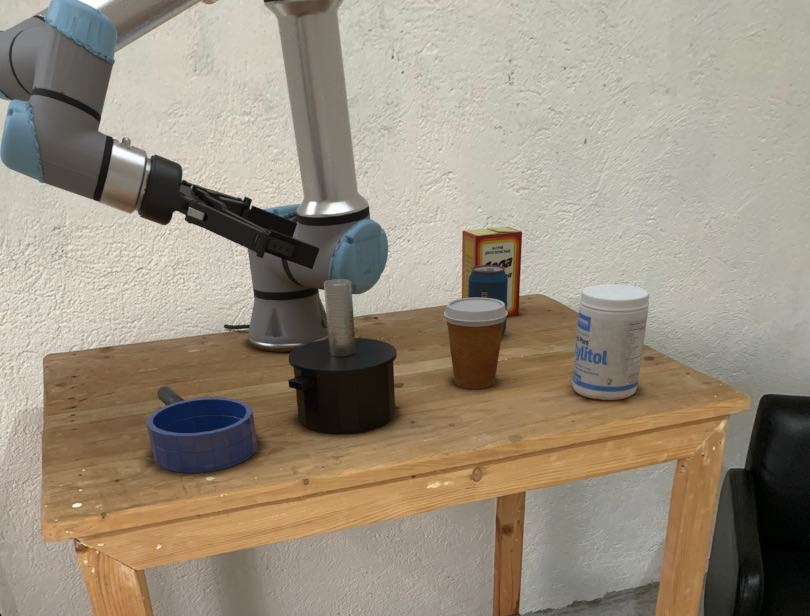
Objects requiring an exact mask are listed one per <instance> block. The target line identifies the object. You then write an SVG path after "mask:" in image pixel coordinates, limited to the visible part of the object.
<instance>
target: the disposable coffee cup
mask: <svg viewBox="0 0 810 616" xmlns="http://www.w3.org/2000/svg"><path fill="white" fill-rule="evenodd" d="M507 314H508V312H507V311H506V309H505V304H504V302H502V301H500V300H497V299H491V298H478V297H475V298H462V297H461V298H457V299H453V300H450V301H449V302H447V304H446V307H445V310H444V312H443V316H444V319H445V322H446V324H447V331H448V341H449V348H450V358H451V364H452V365H451V366H452V373H453V382H454V384H455V386H457V387H459V388H464V389H473V390H475V389H485V388H489V387H492V386H493V385H494V384H495V382H496V376H497V371H498V363H499V357H500V349H501V343H502V337H503V335H502V331H503V325H504V321H505V319H506V320H507V317H508V316H507ZM506 316H507V317H506Z"/></svg>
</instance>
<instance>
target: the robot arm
mask: <svg viewBox="0 0 810 616" xmlns="http://www.w3.org/2000/svg"><path fill="white" fill-rule="evenodd" d="M218 1H220V0H50V2H49V6H47V7H46V8H44V9H43V10H40V11H39V12H37V13H34V15H32V16H30V17H29V18H26V19H24V20H22V21H20V22H19V23H17V24H15V25H13V26H12V27H10V28H8V29H5V30H0V99H1V100H4V101H10V102H9V103H8V107H7V110H6V116H5V120H4V123H3V125H4V126H3V130H2V134H1V135H2V136H1V140H0V141H1V142H0V160H1V162H2V163H3V165H4V166H5V167H6V168H8V169H9V170H11V171H14V172H16V173H18V174H21V175H24V176H26V177H29V178H31V179H33V180H37V181H38V182H39V183H41V184H46V185H49V186H52V187H54V188H57V189H60V190H63V191H66V192H69V193H72V194H75V195H78V196H80V197H82V198H87V199H89V200H93V201H95V202H98V203H99V204H102V205H105V206H107V207H110V208H113V209H115V210H119V211H120V212H123V213H126V214H129V215H132V214H133V213H135V211H136V212H137V215H138V216H139V217H140V218H141V219H145V220H147V221H150V222H153V223H156V224H158V225H162V226H167V225H169V224H170V222H171V221H172V219H173V215H174V213H175V212H178V213H179V214H182V215H184V221H185V222H186V223H188V224H190V225H194V226H198V227H199V228H202V229H205V230H206V231H208V232H211V233H213V234H216V235H218V236H219V237H222V238H224V239H226V240H229V241H231V242H233V243H235V244H237V245H239V246H242V247H243V248H246V249H247V254H248V262H249V269H250V276H251V284H252V290H253V305H252V311H251V316H250V323H249V324H233V325H232V324H226V323H224V324H223V328H224V329H226V330H247V329H248V341H249V342H248V343H249V345H250V346H251V347H252V348H255V349H257V350H261V351H266V352H278V353H281V352H282V353H285V352H289V353H290V352H291V351H292V350H294V349H296V348H297V347H300V346H302V345H305V344H308V343H311V342H316V341H321V340H327V339H328V330H327V317H326V308H325V307H324V304H323V302H322V299H321V295H320V290H321V291H324V282H325V281H328V280H333V279H347V280H350V281H351V284H352V295H361V294H364V293H367V292H368V291H370V290H371V289H372V288H374V286H376V284H377V283H378V282H379V280H380V278H381V277H382V276H381V275H382V274H383V273H384V271H385V268H386V265H387V261H388V256H389V241H388V236H387V233H386V231H385V229H384V228H382V226H381V224H380V223H378V222H377V221H375V220H374V219H371V211H370V203H369V201H368V200H367V199H366V198H365V197H364V196H362V195H361V194H360V192H359V190H358V180H357V173H356V163H355V154H354V147H353V137H352V136H353V135H352V129H351V128H352V127H351V119H350V111H349V102H348V95H347V94H348V93H347V85H346V75H345V66H344V57H343V50H342V41H341V32H340V23H339V13H338V12H339V9H340V7H342V6H341V5H342V4H343V3H344V1H345V0H263V6H264V7H265V8H266V9H268V10H269V11H270V12H271V13H272V15H274V16H275V18H276V20H277V26H278V32H279V33H278V34H279V38H280V46H281V52H282V53H281V54H282V60H283V66H284V74H285V80H286V86H287V93H288V99H289V106H290V112H291V120H292V126H293V133H294V140H295V146H296V147H295V148H296V153H297V160H298V168H299V173H300V179H301V186H302V193H303V194H302V195H303V199H302V201H301V203H293V204H287V205H280V206H274V207H273V206H272V207H266V208H260V207H257V206H255V205H254V204H253V205H252V202H253V199H252V198H250V197H248V196H244V197H243V198H241V197H239V196H238V197H237V196H234V195H231V194H226V193H223V192H221V191H217V190H213V189H211V188H207V187H204V186H201V185H199V184H195V183H192V182H189V181H187V180H186V179H183V172H184V171H183V167H182V165H181V164H180V163H179V162H176V161H174V160H172V159H168V158H166V157H163V156H161V155H158V154H152V155H151V156H150V157H148V153H147V151H146V150H145V149H142V148H139V147H136V146H134V145H131V144H132V140H131V139H130V138H129V137H127V136H126V137H125V136H123V138H122V139H121V140H122V141H121V142H120V140H119V139H118V138H117V139H116V138H114V137H113V136H110V135H108V134H105V133H103V132H102V131H99V128H100V125H101V121H102V115H103V110H104V107H105V102H106V97H107V94H108V93H107V92H108V89H109V84H110V80H111V75H112V71H113V68H114V67H113V66H114V65H115V63H116V62H115V53H118V52H119V51H120V50H122V49H124V48H126V47H127V46H128V45H130V44H132V43H134V42H135V41H138V40H139V39H140V38H142V37H143V36H145V35H147V34H148V33H150V32H152V31H154V30H155V29H157V28H159V27H160V26H162V25H163V24H165V23H167V22H168V21H170V20H172V19H174V18H175V17H177V16H178V15H181V14H182V13H183V12H185V11H187V10H188V9H190V8H192V7H193V6H195V5H197V4H198V3H201V4H204V5H213V4H215V3H217V2H218Z"/></svg>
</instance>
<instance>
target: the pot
mask: <svg viewBox="0 0 810 616" xmlns="http://www.w3.org/2000/svg"><path fill="white" fill-rule="evenodd" d="M394 369H395V368H394V361H393V362H392V363H390V364H389V365H387V366H385V367H382V368H379V369H376V370H372V371H368V372H362V373H356V374H345V375H324V374H314V373H308V372H304V371H300V370H298V369H296V368H294V367H293V376H294V377H293V378H290V379H288V381H287V382H288V388H290V389H294V390H295V394H296V405H297V414H298V421H299V423H300V424H301V425H302V426H303V427H304V428H306V429H308V430H310V431H313V432H316V433H322V434H328V435H329V434H330V435H352V434H353V435H354V434H359V433H366V432H369V431H373V430H377V429H379V428H382V427H383V426H386V425H388V424H389V423H390V422H392V420H393V419H394V417H395V413H396V397H395V375H394V374H395V372H394V371H395V370H394Z"/></svg>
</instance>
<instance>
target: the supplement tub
mask: <svg viewBox="0 0 810 616" xmlns="http://www.w3.org/2000/svg"><path fill="white" fill-rule="evenodd" d="M579 301H580V302H579V307H578V317H577V328H576V337H575V347H574V348H575V349H574V356H573V358H574V359H573V368H572V380H571V385H572V388H573V389H572V390H574V391H575V392H576V393H577V394H578V395H581V396H582V397H585V398H588V399H592V400H602V401H617V400H618V401H619V400H623V399H627V398H629V397H631V396H633V395H634V394H635V393H636V392H637V390H638V384H639V377H640V371H641V363H642V356H643V349H644V342H645V335H646V329H647V323H648V322H647V321H648V315H649V314H648V313H649V305H650V292H649V290H647V289H645V288H643V287H640V286H636V285H630V284H621V283H602V284H601V283H600V284H594V285H590V286H586V287H585V288H583V289H582V291H581V298H580V300H579Z"/></svg>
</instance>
